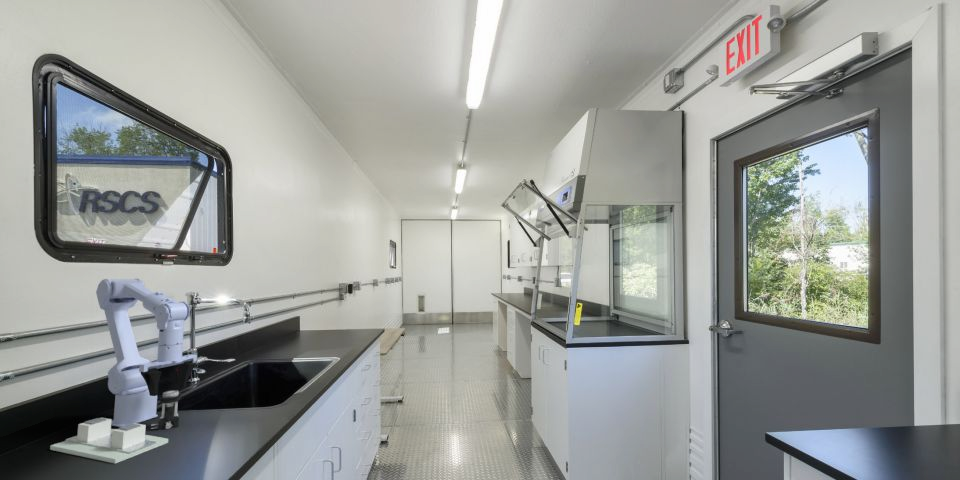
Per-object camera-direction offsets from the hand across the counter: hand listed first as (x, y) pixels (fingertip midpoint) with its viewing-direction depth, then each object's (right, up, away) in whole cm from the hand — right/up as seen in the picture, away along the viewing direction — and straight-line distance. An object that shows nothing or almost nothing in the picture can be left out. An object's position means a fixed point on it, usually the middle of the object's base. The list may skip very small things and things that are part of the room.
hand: (167, 391), depth 115 cm
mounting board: (-6, -10, -12) cm, 16 cm away
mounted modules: (-5, -8, -12) cm, 15 cm away
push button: (-1, -11, 0) cm, 11 cm away
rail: (-6, -10, -12) cm, 16 cm away
